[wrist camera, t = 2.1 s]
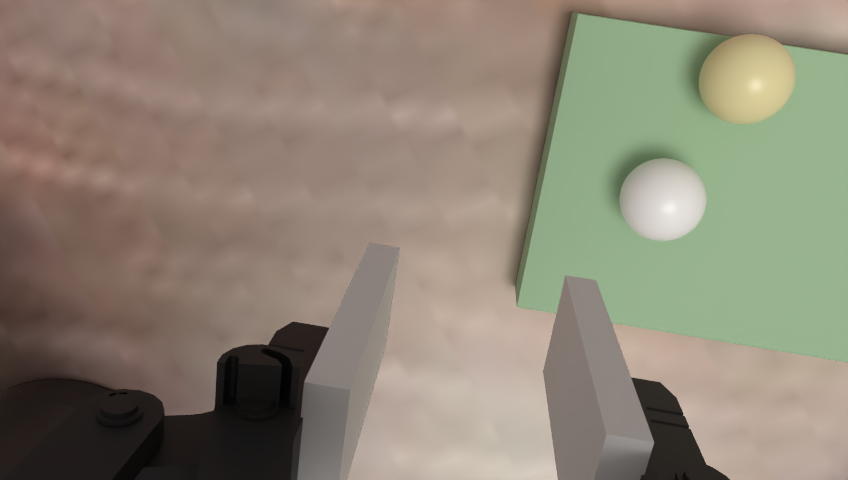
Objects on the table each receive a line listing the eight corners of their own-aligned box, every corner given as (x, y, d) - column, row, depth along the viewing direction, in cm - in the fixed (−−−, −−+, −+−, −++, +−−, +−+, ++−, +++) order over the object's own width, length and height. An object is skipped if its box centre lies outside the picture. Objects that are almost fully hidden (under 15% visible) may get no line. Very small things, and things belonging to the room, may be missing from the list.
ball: (605, 219, 33) (618, 245, 30) (623, 144, 32) (639, 163, 29) (681, 231, 33) (703, 259, 30) (703, 156, 32) (728, 177, 29)
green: (515, 286, 38) (519, 334, 32) (572, 11, 33) (587, 16, 28) (1014, 370, 37) (1100, 433, 31) (1148, 100, 32) (1276, 122, 27)
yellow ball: (678, 109, 31) (701, 124, 28) (701, 25, 30) (728, 30, 27) (761, 122, 31) (793, 138, 28) (787, 38, 30) (824, 45, 27)
